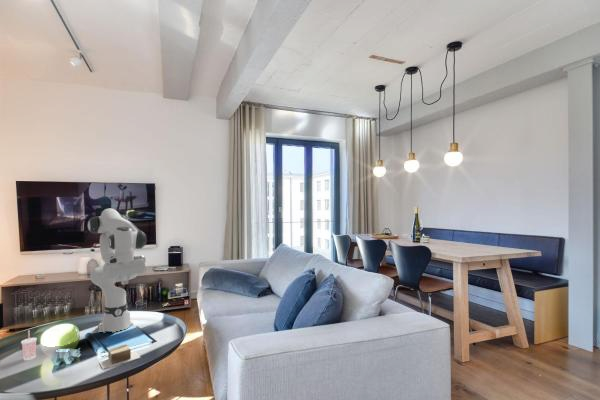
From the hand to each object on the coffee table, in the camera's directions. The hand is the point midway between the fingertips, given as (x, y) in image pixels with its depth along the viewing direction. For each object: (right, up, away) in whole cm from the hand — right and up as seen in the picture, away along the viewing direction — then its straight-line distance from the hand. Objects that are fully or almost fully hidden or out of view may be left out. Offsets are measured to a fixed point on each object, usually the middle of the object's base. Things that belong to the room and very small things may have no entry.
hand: (124, 284), depth 173 cm
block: (+2, -31, -11) cm, 32 cm away
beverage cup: (-42, -34, -10) cm, 55 cm away
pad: (+6, -33, -15) cm, 37 cm away
